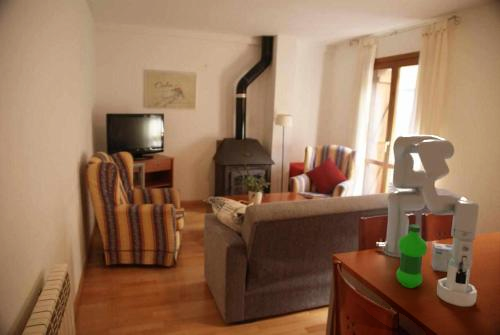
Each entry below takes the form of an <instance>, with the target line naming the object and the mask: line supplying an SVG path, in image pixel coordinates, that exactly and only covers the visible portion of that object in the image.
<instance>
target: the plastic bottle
mask: <svg viewBox="0 0 500 335" xmlns="http://www.w3.org/2000/svg"><path fill="white" fill-rule="evenodd" d="M420 232H421V226H420V225H418V224H412V223H411V224H410V223H409V225H408V234H407V235H405V236H403V237H402V238H400V240H399V243H398V245H399V250H400V252H401V258H400V259H399V260H400V261H399V267H398V269H397V270H396V279H397V281H398V282H399V283H400V284H401V285H402V286H403V287H404V288H408V289H414V288H416V287H418V286H420V285H421V284H422V283H423V279H424V278H423V275H422V263H423V256H425V255H426V254H427V250H428V246H427V243H426V241H425V240H424V239H423V238H422V237H421V236H420V234H419V233H420Z"/></svg>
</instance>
